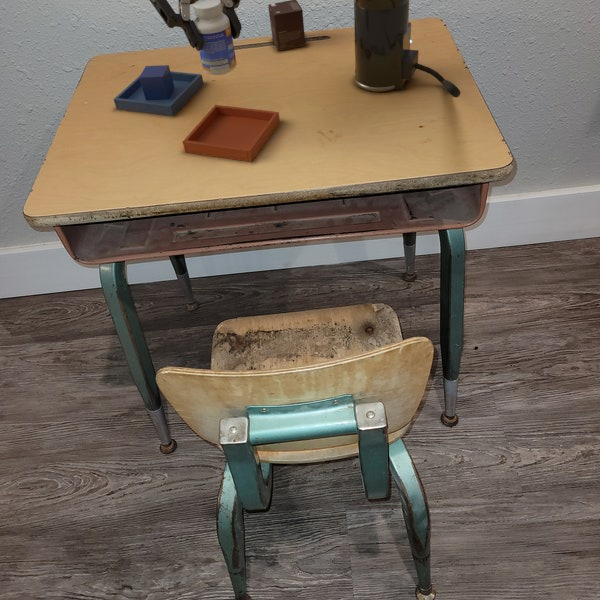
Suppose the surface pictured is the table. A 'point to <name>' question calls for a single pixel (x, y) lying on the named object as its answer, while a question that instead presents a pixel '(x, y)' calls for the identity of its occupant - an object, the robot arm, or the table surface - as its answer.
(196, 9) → the pill bottle
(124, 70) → the table surface
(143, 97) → the blue tray
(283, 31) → the box
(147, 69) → the blue block
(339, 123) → the table surface
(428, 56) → the table surface
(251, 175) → the table surface
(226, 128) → the warm tray
